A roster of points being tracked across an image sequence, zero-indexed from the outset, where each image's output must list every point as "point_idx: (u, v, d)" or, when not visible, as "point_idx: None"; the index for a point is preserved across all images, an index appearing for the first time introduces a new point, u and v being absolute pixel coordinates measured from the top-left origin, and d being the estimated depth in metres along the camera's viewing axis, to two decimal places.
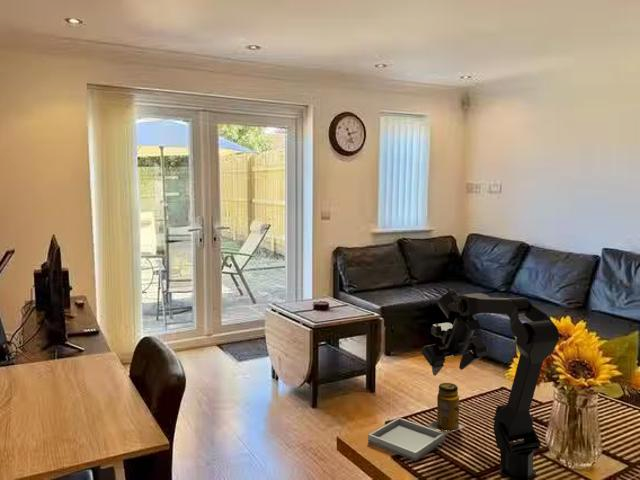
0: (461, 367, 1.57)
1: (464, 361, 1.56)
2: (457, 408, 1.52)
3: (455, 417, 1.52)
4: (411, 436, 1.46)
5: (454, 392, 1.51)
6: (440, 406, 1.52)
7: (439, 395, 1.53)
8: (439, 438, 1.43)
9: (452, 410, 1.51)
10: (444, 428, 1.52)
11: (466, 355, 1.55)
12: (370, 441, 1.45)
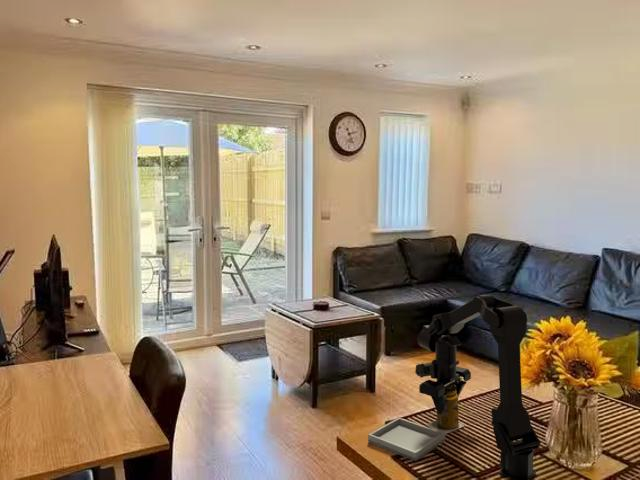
0: None
1: None
2: (456, 407, 1.52)
3: (455, 416, 1.51)
4: (411, 436, 1.46)
5: (453, 392, 1.51)
6: None
7: None
8: (439, 438, 1.43)
9: (452, 410, 1.51)
10: (444, 428, 1.52)
11: None
12: (370, 441, 1.45)
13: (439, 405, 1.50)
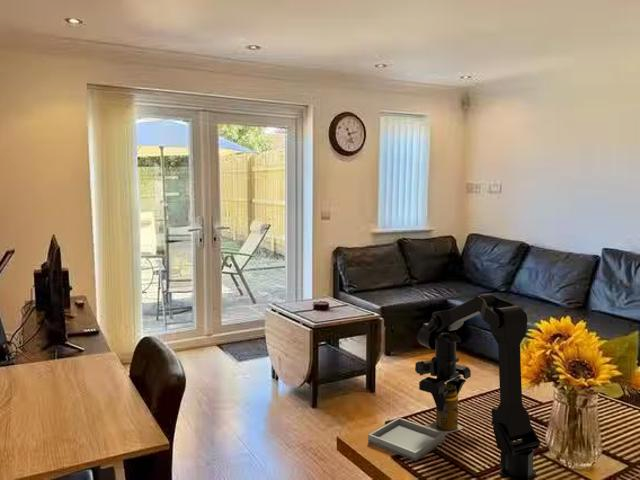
0: None
1: None
2: (456, 409, 1.51)
3: (454, 418, 1.51)
4: (411, 436, 1.46)
5: (453, 393, 1.50)
6: None
7: None
8: (439, 438, 1.43)
9: (451, 411, 1.50)
10: (443, 429, 1.51)
11: None
12: (370, 441, 1.45)
13: (439, 402, 1.50)
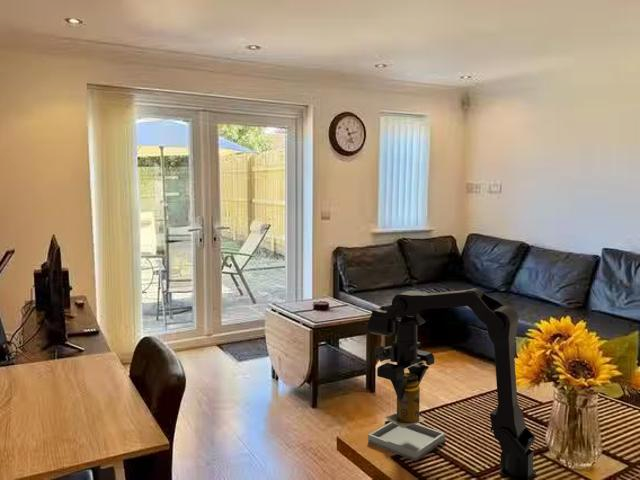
0: None
1: None
2: (417, 400, 1.42)
3: (415, 409, 1.42)
4: (411, 436, 1.46)
5: (414, 383, 1.41)
6: None
7: None
8: (439, 438, 1.43)
9: (412, 402, 1.41)
10: (403, 421, 1.42)
11: (414, 372, 1.46)
12: (370, 441, 1.45)
13: (399, 390, 1.40)
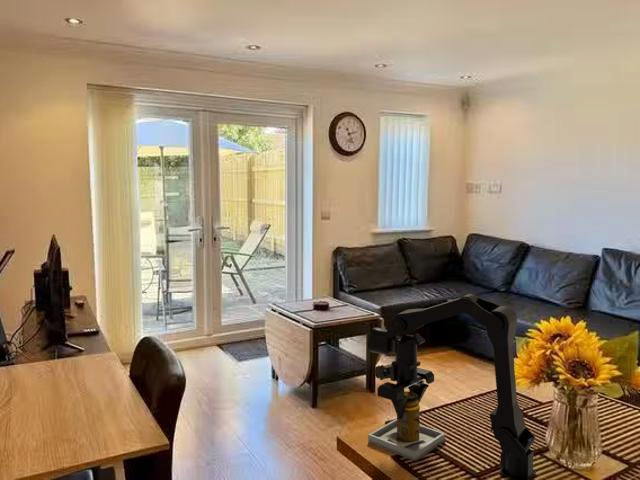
0: None
1: None
2: (417, 419, 1.42)
3: (415, 428, 1.42)
4: None
5: (414, 402, 1.41)
6: None
7: None
8: (439, 438, 1.43)
9: (412, 421, 1.41)
10: (403, 440, 1.43)
11: (414, 391, 1.47)
12: (370, 441, 1.45)
13: (399, 409, 1.41)
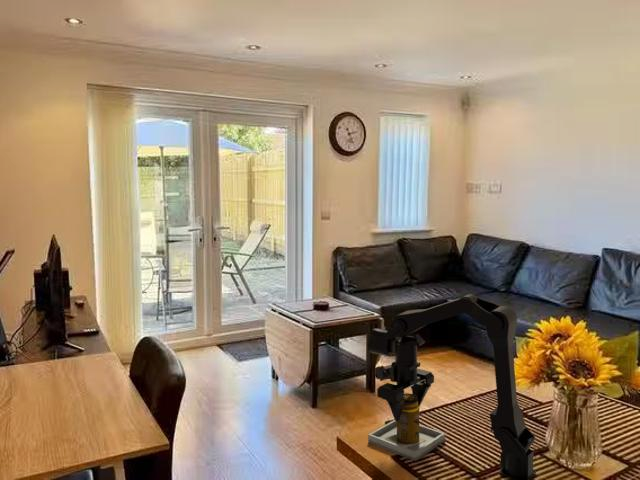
0: None
1: None
2: (417, 420, 1.43)
3: (415, 430, 1.42)
4: None
5: (413, 403, 1.42)
6: None
7: None
8: (439, 438, 1.43)
9: (412, 423, 1.42)
10: (403, 442, 1.43)
11: (416, 390, 1.48)
12: (370, 441, 1.45)
13: (396, 411, 1.40)
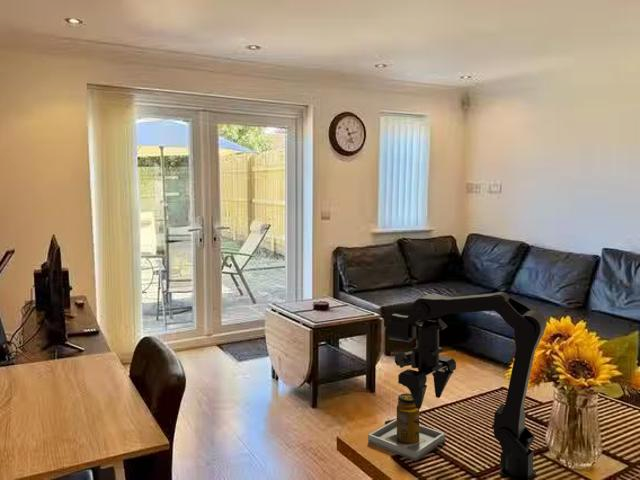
0: (438, 394, 1.42)
1: (438, 385, 1.42)
2: (417, 420, 1.43)
3: (415, 430, 1.42)
4: None
5: (413, 403, 1.42)
6: (399, 418, 1.43)
7: (398, 407, 1.43)
8: (439, 438, 1.43)
9: (412, 423, 1.42)
10: (403, 442, 1.43)
11: (438, 377, 1.42)
12: (370, 441, 1.45)
13: (418, 399, 1.35)
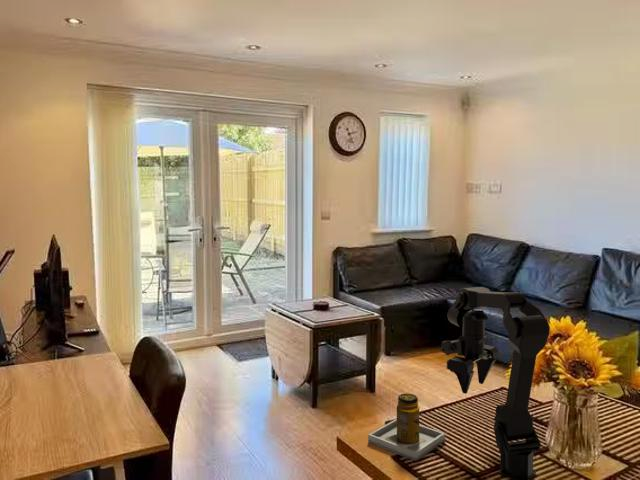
0: (481, 380, 1.51)
1: (482, 372, 1.51)
2: (417, 420, 1.43)
3: (415, 430, 1.42)
4: None
5: (413, 403, 1.42)
6: (399, 418, 1.43)
7: (398, 407, 1.43)
8: (439, 438, 1.43)
9: (412, 423, 1.42)
10: (403, 442, 1.43)
11: (481, 364, 1.51)
12: (370, 441, 1.45)
13: (465, 384, 1.43)
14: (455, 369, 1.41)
